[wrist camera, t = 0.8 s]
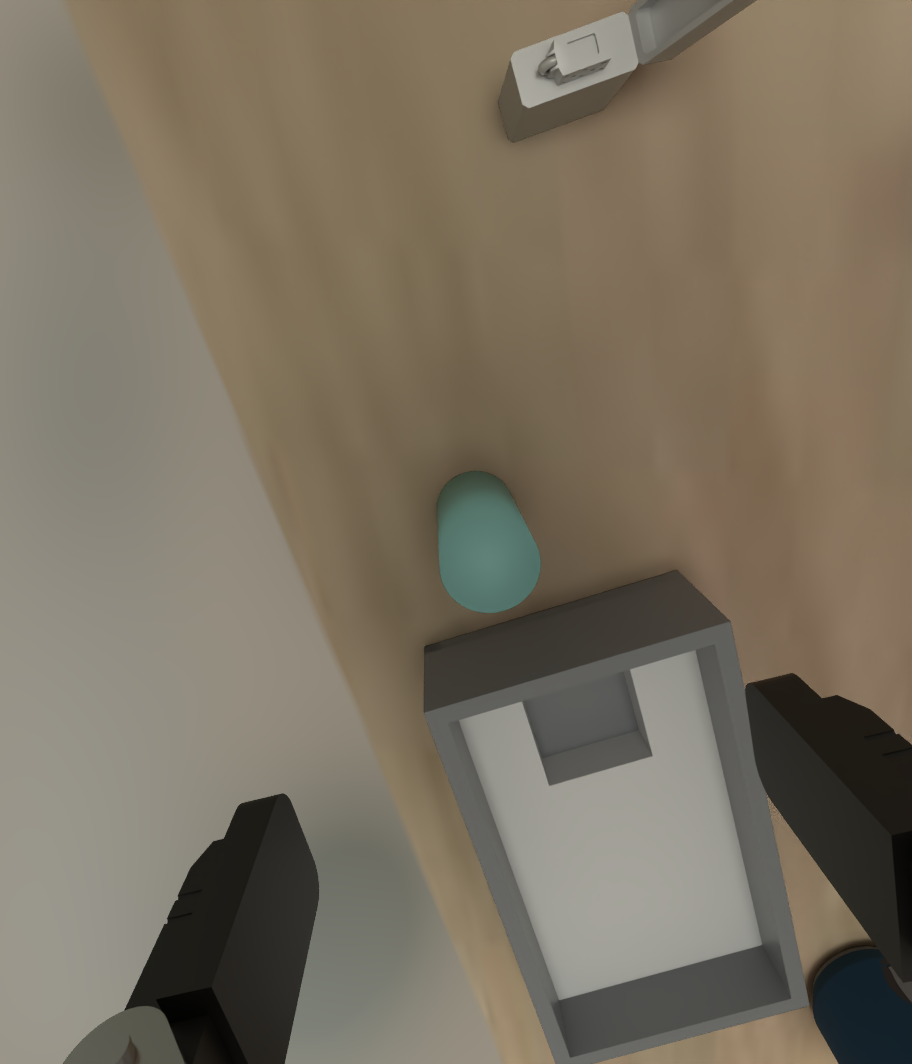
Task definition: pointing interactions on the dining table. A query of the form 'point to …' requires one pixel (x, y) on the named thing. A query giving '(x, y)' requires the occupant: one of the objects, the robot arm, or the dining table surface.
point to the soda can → (863, 1008)
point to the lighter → (600, 61)
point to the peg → (484, 544)
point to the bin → (619, 816)
